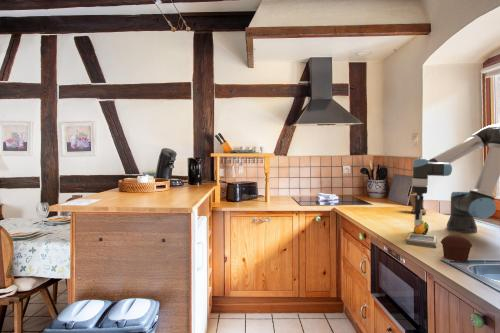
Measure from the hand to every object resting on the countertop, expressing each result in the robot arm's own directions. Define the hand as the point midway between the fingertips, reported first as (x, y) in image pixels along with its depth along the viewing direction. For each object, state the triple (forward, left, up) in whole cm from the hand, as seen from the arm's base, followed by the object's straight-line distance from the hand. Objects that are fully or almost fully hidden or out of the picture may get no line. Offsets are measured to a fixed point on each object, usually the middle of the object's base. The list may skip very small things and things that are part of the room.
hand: (418, 223), depth 175 cm
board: (-3, +16, -6) cm, 17 cm away
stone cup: (+5, -69, -7) cm, 70 cm away
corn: (-1, 0, -7) cm, 7 cm away
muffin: (-17, +36, -7) cm, 40 cm away
